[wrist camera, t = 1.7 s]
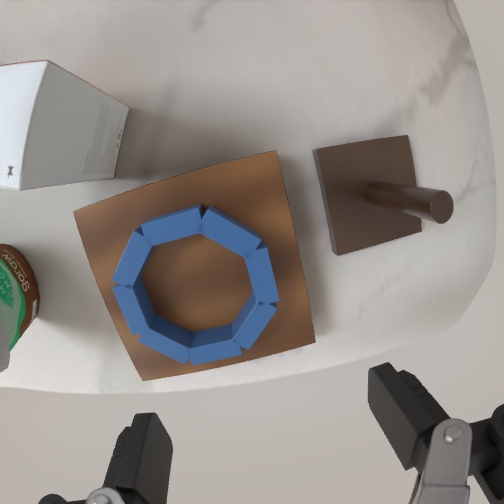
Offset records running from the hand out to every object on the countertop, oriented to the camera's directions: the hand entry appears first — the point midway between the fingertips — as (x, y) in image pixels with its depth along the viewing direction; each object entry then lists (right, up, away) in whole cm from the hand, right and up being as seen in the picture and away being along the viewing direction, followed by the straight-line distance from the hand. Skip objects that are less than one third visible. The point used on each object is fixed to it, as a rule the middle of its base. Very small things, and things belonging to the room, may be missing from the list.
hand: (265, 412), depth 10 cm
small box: (-15, +16, +12) cm, 25 cm away
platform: (-5, +4, +16) cm, 17 cm away
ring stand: (+10, +11, +15) cm, 21 cm away
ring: (-5, +3, +13) cm, 14 cm away
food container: (-24, +4, +14) cm, 29 cm away
